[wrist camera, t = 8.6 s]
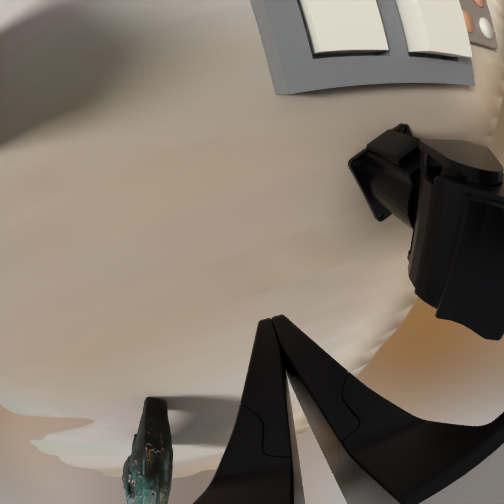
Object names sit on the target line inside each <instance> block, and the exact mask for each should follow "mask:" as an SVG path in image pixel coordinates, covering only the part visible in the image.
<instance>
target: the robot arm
mask: <svg viewBox="0 0 504 504" xmlns="http://www.w3.org/2000/svg"><path fill="white" fill-rule="evenodd" d="M403 128H404V131H403ZM355 162H356V166H355V167H353V164H354V163H355ZM348 166H349V169H350V170H351V172H352V174H353V176H354V178H355V180H356V181H357V183H358V185H359V187H360V189H361V191H362V193H363V195H364V197H365V199H366V201H367V203H368V205H369V207H370V209H371V211H372V213H373V215H374V217H375V218H376V219H377V220H378V221H380V222H381V221H383V220H385V219H386V218H387V217H389V216H390V215H391V214H394V215H395V216H396V217H398V218H399V219H400V220H402V221H403V222H404V223H405V224H407V225H408V226H409V227H410V228H412V229H413V235H412V242H411V247H410V251H409V252H408V257H407V258H408V261H409V266H408V272H409V278H410V280H411V282H412V284H413V285H414V287H415V294H416V295H417V296H419V297H420V298H421V299H422V300H423V301H424V302H425V303H427V304H429V305H430V306H432V307H434V308H436V309H437V312H436V314H435V316H436V317H437V318H439V319H446V320H451V321H454V322H457V323H460V324H462V325H464V326H466V327H468V328H469V329H471V330H472V331H474V332H475V333H477V334H478V335H480V336H481V337H483V338H485V339H491V340H500V339H501V338H502V336H503V335H504V173H503V170H504V169H503V167H502V165H501V164H500V163H499V161H498V160H497V159H496V157H495V156H494V155H493V153H492V152H491V151H490V149H488V148H486V147H483V146H480V145H476V144H473V143H470V142H466V141H459V140H421V139H418V138H415V137H413V136H412V134H411V132H410V129H409V127H408V125H406V124H399V125H398V126H396V127H395V128H393V129H392V130H387V131H386V132H384V133H383V134H381V135H380V136H379V137H377V138H376V139H374V140H373V141H371V142H370V143H369V144H367V147H366V148H365V149H364V150H362V151H361V152H359V153H358V154H357V155H355V156H354V157H352V158H351V159H350V160H349V162H348ZM380 214H381V216H380ZM379 216H380V217H379ZM286 374H287V375H286ZM287 376H288V379H289V381H290V383H291V386H292V388H293V390H294V392H295V394H296V397H297V399H298V401H299V403H300V405H301V407H302V409H303V412H304V414H305V416H306V418H307V420H308V422H309V425H310V427H311V429H312V431H313V433H314V435H315V437H316V439H317V442H318V444H319V446H320V448H321V450H322V451H323V454H324V456H325V458H326V460H327V462H328V464H329V467H330V469H331V471H332V473H333V474H334V477H335V479H336V481H337V483H338V485H339V487H340V489H341V491H342V493H343V496H344V498H345V499H346V502H347V504H504V412H503V413H502V414H501V415H500V416H499V417H497V418H496V419H495V420H494V421H492V422H491V423H489V424H486V425H483V426H464V425H456V424H448V423H440V422H433V421H427V420H423V419H420V418H418V417H415V416H413V415H411V414H410V413H408V412H406V411H404V410H403V409H401V408H400V407H398V406H396V405H395V404H393V403H391V402H389V401H388V400H386V399H385V398H383V397H382V396H380V395H379V394H377V393H376V392H374V391H373V390H371V389H370V388H368V387H367V386H366V385H364V384H363V383H362V382H360V381H359V380H358V379H357V378H356V377H354V376H353V375H352V374H351V373H350V372H348V371H347V370H346V369H345V368H344V367H343V366H341V365H340V364H339V363H338V362H337V361H336V360H334V359H333V358H332V357H331V356H330V355H329V354H328V353H326V352H325V351H324V350H323V349H322V348H321V347H319V346H318V345H317V344H316V343H315V342H314V341H313V340H311V339H310V338H309V337H308V336H307V335H306V334H305V333H304V332H302V331H301V330H300V329H299V328H298V327H297V326H296V325H294V324H293V323H292V322H291V321H290V320H289V319H288V318H287V317H285V316H284V315H278V316H274V317H272V319H270V318H267V319H264V320H260V321H259V322H258V326H257V331H256V336H255V340H254V345H253V349H252V354H251V358H250V363H249V367H248V372H247V376H246V381H245V385H244V389H243V394H242V398H241V402H240V403H241V404H240V406H239V410H238V415H237V418H236V422H235V425H234V429H233V431H232V434H231V437H230V440H229V442H228V445H227V447H226V450H225V452H224V455H223V457H222V459H221V462H220V464H219V466H218V469H217V471H216V473H215V475H214V478H213V479H212V481H211V483H210V484H209V486H208V487H207V489H206V490H205V491H204V492H203V493H202V495H201V496H200V497H199V498H198V499H197V500H196V501H195V502H194V503H193V504H305V499H304V492H303V485H302V477H301V470H300V463H299V455H298V448H297V441H296V434H295V427H294V420H293V413H292V406H291V400H290V393H289V386H288V380H287Z"/></svg>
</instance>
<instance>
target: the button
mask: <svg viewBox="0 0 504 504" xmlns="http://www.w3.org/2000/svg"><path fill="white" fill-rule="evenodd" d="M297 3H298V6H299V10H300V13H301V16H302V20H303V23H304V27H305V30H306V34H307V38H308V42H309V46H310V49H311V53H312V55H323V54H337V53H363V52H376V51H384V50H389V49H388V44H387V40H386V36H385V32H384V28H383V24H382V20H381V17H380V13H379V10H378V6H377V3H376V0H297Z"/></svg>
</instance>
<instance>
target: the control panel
mask: <svg viewBox="0 0 504 504" xmlns="http://www.w3.org/2000/svg"><path fill="white" fill-rule="evenodd" d="M250 1H251V4H252V7H253V11H254V14H255V17H256V21H257V24H258V28H259V31H260V35H261V38H262V42H263V46H264V49H265V53H266V57H267V61H268V64H269V68H270V72H271V76H272V80H273V84H274V88H275V92H276V95H288V94H294V93H300V92H306V91H313V90H320V89H327V88H336V87H345V86H355V85H367V84H384V83H446V84H462V85H473V86H475V84H474V75H473V68H472V62H471V58H470V57H451V56H444V55H436V54H427V53H416V52H408V47H407V42H406V38H405V34H404V29H403V25H402V22H401V18H400V14H399V11H398V7H397V4H396V1H395V0H376V3H377V6H378V10H379V13H380V17H381V20H382V24H383V28H384V32H385V36H386V40H387V44H388V49H389V50H384V51H376V52H363V53H337V54H323V55H312V53H311V49H310V46H309V42H308V38H307V34H306V30H305V27H304V23H303V20H302V16H301V13H300V10H299V6H298V3H297V0H250Z"/></svg>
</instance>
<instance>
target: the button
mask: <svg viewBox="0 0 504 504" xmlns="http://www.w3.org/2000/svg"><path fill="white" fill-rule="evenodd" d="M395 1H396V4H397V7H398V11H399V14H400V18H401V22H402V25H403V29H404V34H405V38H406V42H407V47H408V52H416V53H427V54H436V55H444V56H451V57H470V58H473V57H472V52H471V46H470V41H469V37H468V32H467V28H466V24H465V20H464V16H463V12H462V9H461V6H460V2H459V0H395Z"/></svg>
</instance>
